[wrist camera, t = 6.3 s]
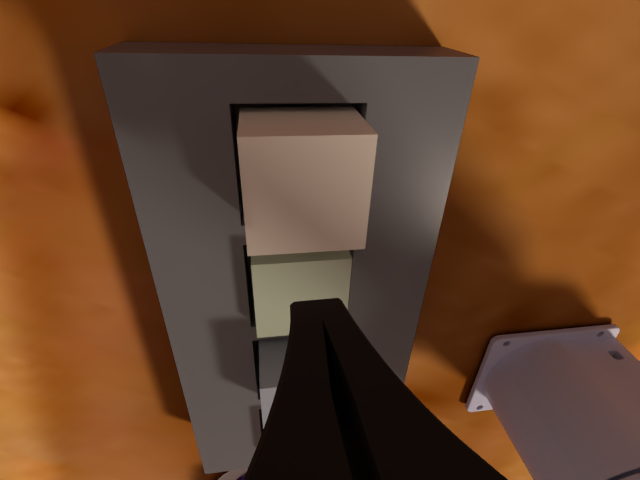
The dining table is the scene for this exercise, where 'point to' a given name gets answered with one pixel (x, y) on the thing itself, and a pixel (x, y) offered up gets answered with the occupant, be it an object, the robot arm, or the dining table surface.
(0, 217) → the dining table surface
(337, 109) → the key ivory
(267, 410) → the key slate
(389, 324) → the keypad board
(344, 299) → the key sage
